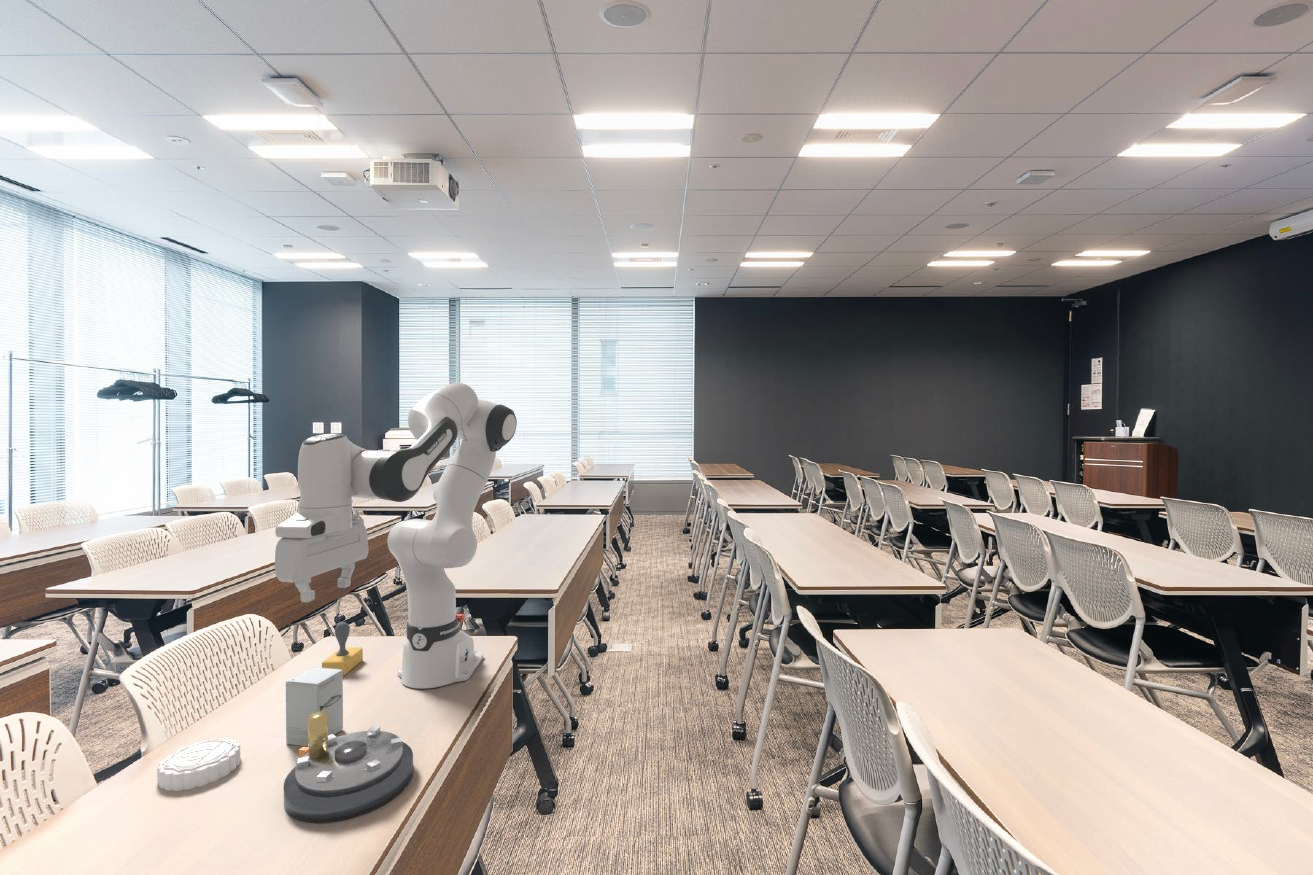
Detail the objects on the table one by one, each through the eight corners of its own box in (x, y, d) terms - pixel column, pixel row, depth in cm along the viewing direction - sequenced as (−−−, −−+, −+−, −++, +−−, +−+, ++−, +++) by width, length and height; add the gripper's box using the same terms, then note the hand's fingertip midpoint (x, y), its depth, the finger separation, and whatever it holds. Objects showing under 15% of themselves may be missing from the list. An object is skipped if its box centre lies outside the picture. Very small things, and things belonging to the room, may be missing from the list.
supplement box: (317, 748, 115) (316, 684, 115) (284, 744, 117) (283, 680, 117) (344, 729, 123) (343, 668, 122) (313, 725, 124) (312, 665, 124)
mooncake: (188, 755, 114) (188, 736, 113) (254, 752, 115) (254, 733, 114) (139, 794, 102) (138, 773, 102) (213, 790, 103) (213, 770, 102)
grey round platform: (340, 748, 115) (340, 720, 115) (434, 758, 112) (434, 729, 112) (253, 815, 96) (253, 781, 96) (365, 829, 92) (364, 794, 92)
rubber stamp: (341, 660, 158) (340, 616, 158) (363, 660, 158) (362, 615, 158) (321, 676, 148) (320, 629, 148) (344, 676, 149) (343, 628, 148)
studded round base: (271, 793, 96) (270, 739, 96) (335, 739, 113) (334, 693, 112) (369, 798, 95) (369, 744, 95) (419, 742, 111) (419, 696, 111)
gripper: (348, 511, 122) (349, 578, 122) (267, 529, 102) (268, 609, 102) (376, 512, 121) (377, 580, 121) (299, 530, 101) (300, 611, 101)
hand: (326, 593), depth 112 cm, fingers open, 8 cm apart
